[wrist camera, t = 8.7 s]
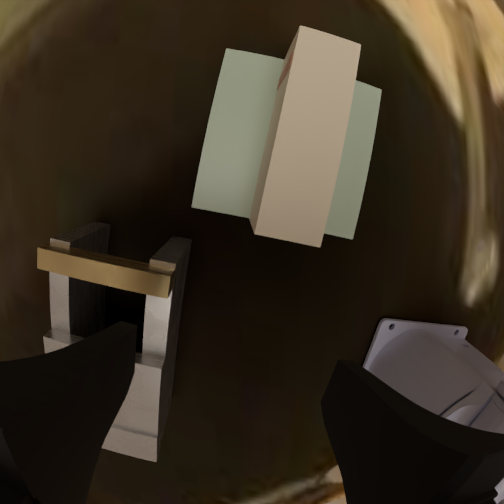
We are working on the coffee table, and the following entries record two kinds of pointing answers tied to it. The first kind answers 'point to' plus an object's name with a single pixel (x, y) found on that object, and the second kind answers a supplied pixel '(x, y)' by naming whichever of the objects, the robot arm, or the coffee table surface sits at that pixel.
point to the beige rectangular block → (305, 138)
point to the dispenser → (93, 321)
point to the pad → (255, 134)
